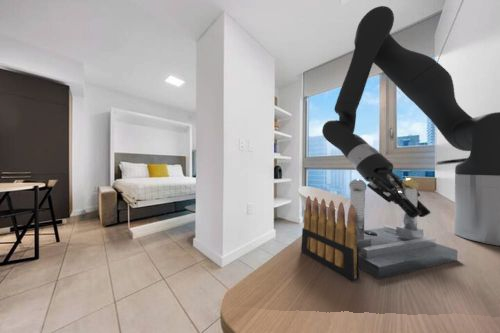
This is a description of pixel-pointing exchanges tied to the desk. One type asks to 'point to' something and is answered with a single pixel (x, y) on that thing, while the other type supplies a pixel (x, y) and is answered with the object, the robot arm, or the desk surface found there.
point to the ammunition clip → (331, 238)
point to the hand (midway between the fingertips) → (421, 215)
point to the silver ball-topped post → (359, 211)
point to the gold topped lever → (408, 223)
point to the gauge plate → (401, 254)
